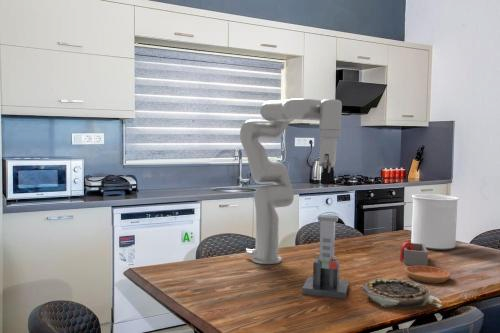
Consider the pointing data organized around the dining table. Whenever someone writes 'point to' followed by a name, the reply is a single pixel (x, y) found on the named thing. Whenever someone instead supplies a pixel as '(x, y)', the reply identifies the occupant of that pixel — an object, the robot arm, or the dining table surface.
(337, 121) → the robot arm
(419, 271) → the saucer
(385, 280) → the pie
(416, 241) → the bucket
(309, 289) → the stand
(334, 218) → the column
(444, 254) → the dining table surface
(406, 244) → the bracket
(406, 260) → the bracket rest
